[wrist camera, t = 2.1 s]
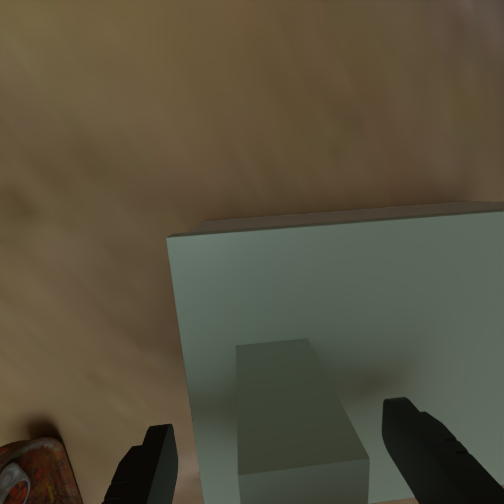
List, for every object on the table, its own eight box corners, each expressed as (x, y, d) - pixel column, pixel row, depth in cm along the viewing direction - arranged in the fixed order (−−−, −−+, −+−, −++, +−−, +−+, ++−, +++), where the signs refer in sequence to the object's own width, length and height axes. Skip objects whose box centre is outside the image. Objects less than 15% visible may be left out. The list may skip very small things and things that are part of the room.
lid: (584, 198, 13) (1050, 199, 6) (535, 430, 16) (791, 628, 9) (180, 229, 12) (90, 281, 4) (211, 471, 15) (190, 740, 7)
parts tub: (465, 201, 19) (624, 203, 11) (447, 362, 22) (563, 451, 14) (202, 220, 18) (178, 238, 10) (220, 387, 21) (212, 498, 13)
